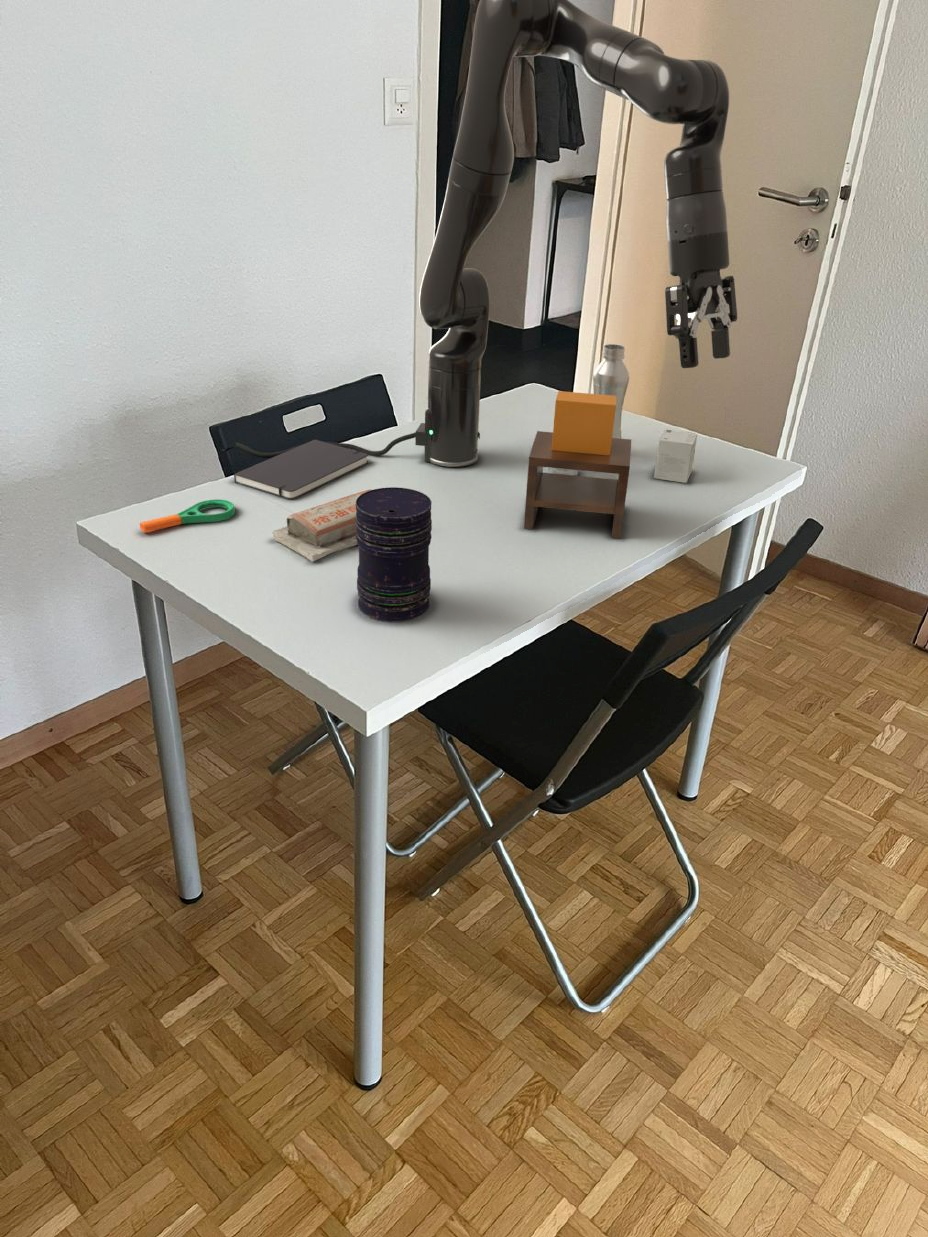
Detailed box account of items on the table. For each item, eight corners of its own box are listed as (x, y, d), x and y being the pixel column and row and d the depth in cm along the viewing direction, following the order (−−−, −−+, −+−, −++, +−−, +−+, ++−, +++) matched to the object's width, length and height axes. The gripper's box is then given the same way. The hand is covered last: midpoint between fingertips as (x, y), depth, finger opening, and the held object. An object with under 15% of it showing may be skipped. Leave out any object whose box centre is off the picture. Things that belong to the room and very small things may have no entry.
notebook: (315, 447, 182) (234, 482, 166) (314, 439, 181) (233, 473, 165) (369, 462, 176) (291, 500, 160) (369, 454, 175) (291, 491, 160)
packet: (551, 450, 151) (555, 399, 147) (554, 440, 155) (558, 390, 151) (610, 455, 150) (615, 405, 145) (611, 445, 153) (616, 395, 149)
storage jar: (362, 584, 136) (360, 485, 129) (432, 588, 136) (434, 488, 129) (352, 621, 128) (350, 516, 120) (427, 624, 128) (429, 520, 120)
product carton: (687, 483, 172) (693, 444, 169) (652, 478, 174) (658, 439, 170) (691, 472, 177) (698, 433, 174) (658, 467, 179) (663, 428, 175)
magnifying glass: (223, 502, 159) (222, 493, 158) (242, 515, 155) (241, 505, 154) (134, 527, 150) (132, 516, 149) (152, 540, 146) (150, 530, 145)
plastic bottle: (594, 444, 188) (606, 340, 178) (626, 452, 185) (639, 346, 175) (578, 453, 184) (588, 346, 173) (609, 462, 180) (622, 354, 170)
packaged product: (363, 481, 156) (405, 500, 150) (364, 509, 158) (405, 529, 152) (269, 511, 145) (311, 533, 139) (271, 540, 147) (312, 564, 141)
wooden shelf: (523, 528, 154) (528, 456, 148) (532, 499, 164) (537, 430, 158) (620, 538, 152) (629, 466, 146) (622, 508, 162) (631, 439, 156)
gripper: (698, 235, 133) (707, 357, 138) (642, 241, 123) (653, 372, 128) (750, 226, 128) (756, 353, 133) (695, 232, 118) (704, 368, 123)
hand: (706, 362), depth 130 cm, fingers open, 8 cm apart
